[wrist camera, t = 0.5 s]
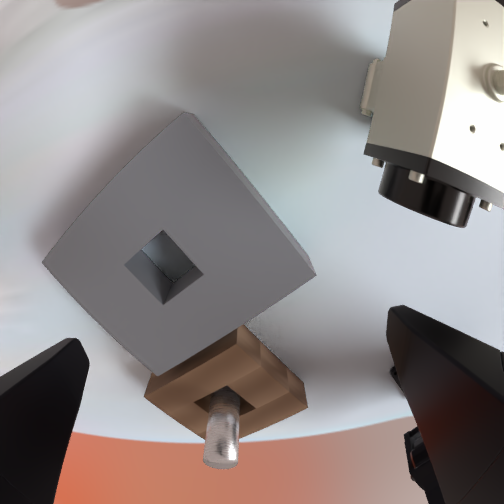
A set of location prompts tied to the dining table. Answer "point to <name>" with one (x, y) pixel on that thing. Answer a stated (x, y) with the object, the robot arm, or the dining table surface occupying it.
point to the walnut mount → (229, 384)
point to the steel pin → (222, 429)
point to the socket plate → (188, 240)
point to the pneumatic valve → (440, 108)
